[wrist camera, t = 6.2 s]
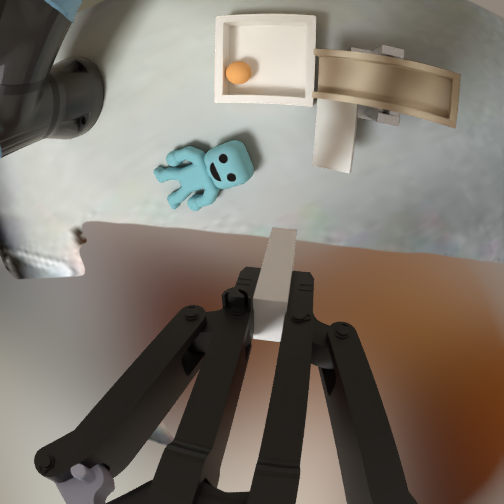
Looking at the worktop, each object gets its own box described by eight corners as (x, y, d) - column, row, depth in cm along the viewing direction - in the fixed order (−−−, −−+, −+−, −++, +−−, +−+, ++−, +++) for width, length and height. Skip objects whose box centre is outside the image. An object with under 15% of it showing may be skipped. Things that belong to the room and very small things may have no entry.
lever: (314, 164, 32) (306, 168, 31) (321, 52, 25) (313, 48, 23) (438, 197, 26) (439, 204, 24) (457, 77, 19) (460, 74, 17)
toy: (141, 166, 39) (224, 128, 32) (160, 157, 43) (239, 122, 36) (169, 222, 44) (254, 198, 36) (185, 208, 47) (265, 185, 40)
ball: (254, 84, 31) (246, 84, 33) (255, 60, 29) (247, 62, 31) (229, 84, 30) (222, 84, 32) (229, 59, 28) (223, 62, 31)
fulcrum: (346, 115, 33) (355, 122, 26) (350, 47, 28) (360, 36, 21) (421, 130, 31) (445, 142, 24) (427, 65, 26) (453, 61, 19)
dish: (223, 101, 35) (214, 102, 32) (224, 21, 29) (215, 16, 26) (312, 105, 33) (312, 106, 30) (316, 22, 27) (316, 15, 24)
